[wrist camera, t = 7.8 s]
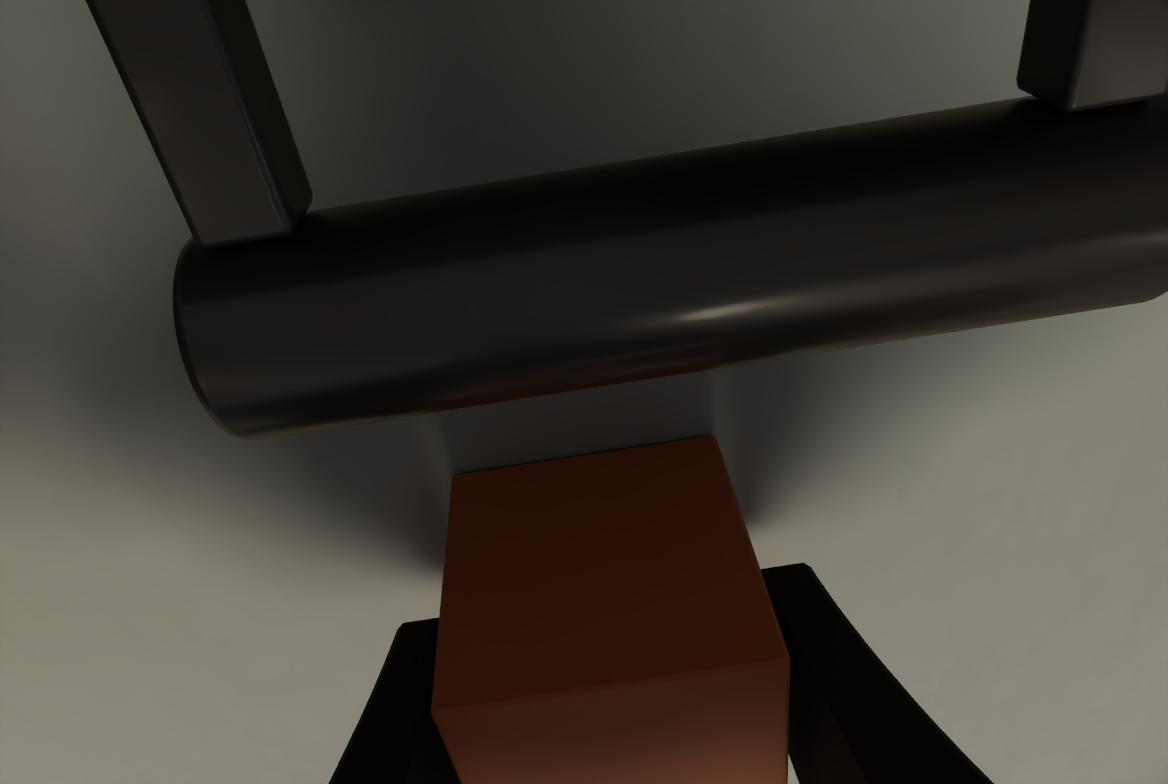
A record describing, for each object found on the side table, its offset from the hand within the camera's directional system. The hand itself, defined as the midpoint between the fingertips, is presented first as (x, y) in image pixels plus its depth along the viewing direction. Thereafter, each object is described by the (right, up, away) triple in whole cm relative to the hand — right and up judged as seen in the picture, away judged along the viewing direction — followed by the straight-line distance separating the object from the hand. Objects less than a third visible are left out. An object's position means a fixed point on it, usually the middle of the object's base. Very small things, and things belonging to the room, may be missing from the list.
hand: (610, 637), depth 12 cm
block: (0, +1, +1) cm, 2 cm away
